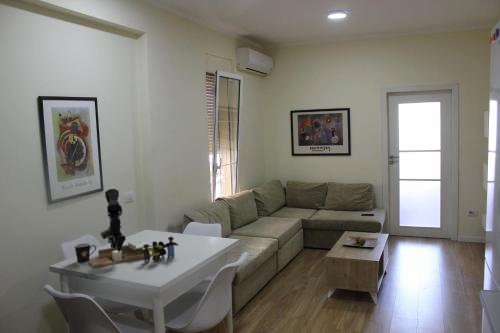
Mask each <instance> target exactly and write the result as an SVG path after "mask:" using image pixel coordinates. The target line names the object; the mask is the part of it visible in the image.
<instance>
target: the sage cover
mask: <svg viewBox="0 0 500 333" xmlns="http://www.w3.org/2000/svg"><path fill="white" fill-rule="evenodd" d="M136 243H137V244H135V243H133V242H130V241H129V242H127V245H128V246H129V247H130V248H132V249H134V250H136V249H141V248H143V249H144V246H143V245H144V244H148V245H149V247H148V248H151V247H153V245H152V244H150V243H148V242H146V241H143V242H142V243H141V242H136Z"/></svg>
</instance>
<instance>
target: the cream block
mask: <svg viewBox="0 0 500 333" xmlns="http://www.w3.org/2000/svg"><path fill="white" fill-rule="evenodd" d="M112 260H113V261H117V260H122V251H120V252H118V250H116V251H112Z"/></svg>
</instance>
